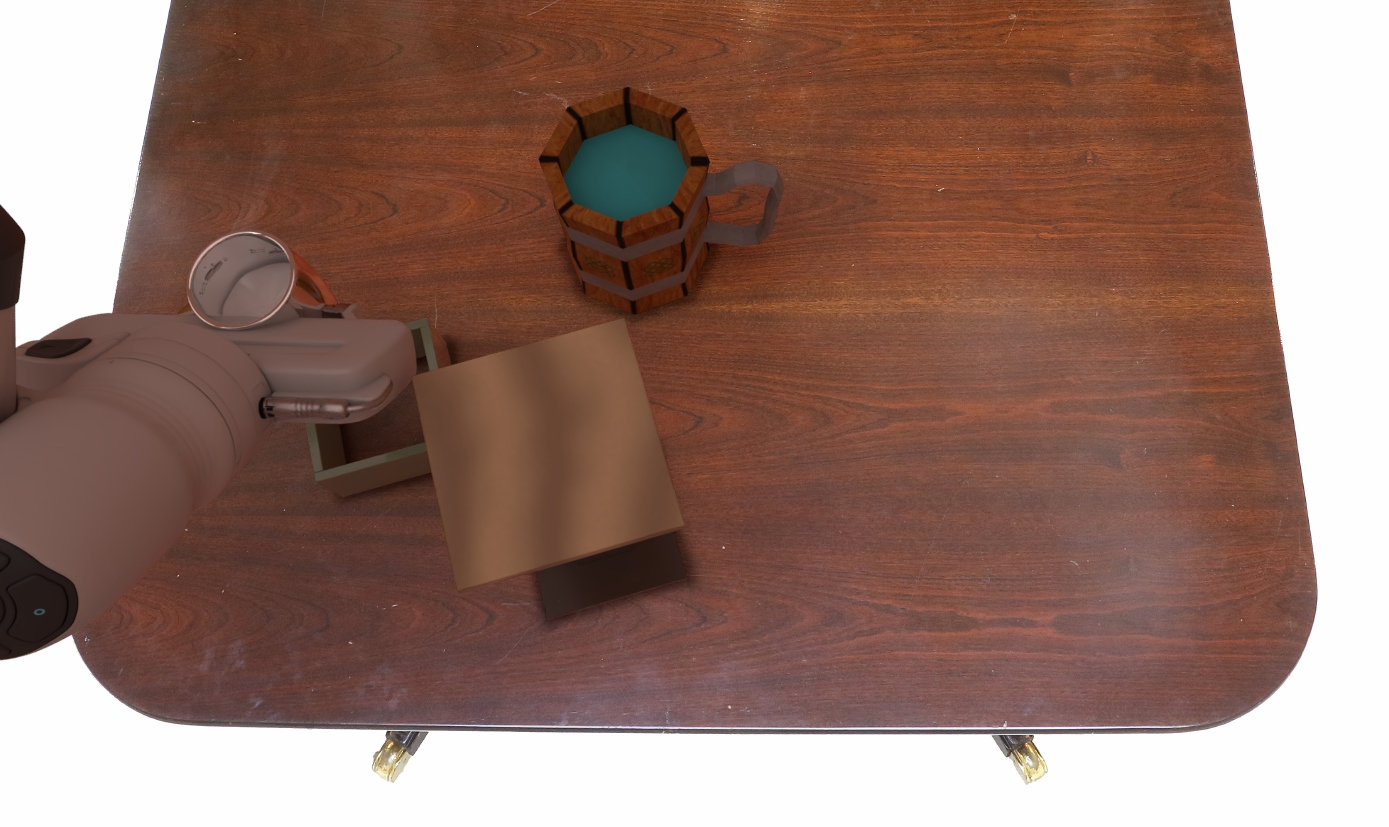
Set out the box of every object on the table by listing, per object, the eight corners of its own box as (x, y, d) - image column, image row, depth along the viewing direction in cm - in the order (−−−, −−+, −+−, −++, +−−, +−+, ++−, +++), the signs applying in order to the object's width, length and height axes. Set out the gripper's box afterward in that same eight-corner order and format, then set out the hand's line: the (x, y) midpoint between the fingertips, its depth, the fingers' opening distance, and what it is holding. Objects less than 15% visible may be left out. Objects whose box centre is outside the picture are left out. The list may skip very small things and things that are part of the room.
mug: (561, 313, 86) (531, 236, 71) (570, 183, 90) (544, 85, 75) (775, 317, 85) (788, 240, 71) (775, 186, 89) (787, 88, 75)
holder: (343, 497, 81) (315, 482, 76) (321, 376, 85) (292, 353, 79) (473, 460, 82) (455, 442, 76) (446, 342, 85) (427, 316, 80)
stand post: (549, 619, 78) (467, 582, 52) (516, 484, 81) (425, 386, 55) (687, 579, 79) (674, 522, 53) (649, 447, 82) (620, 332, 56)
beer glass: (286, 337, 70) (174, 244, 56) (376, 310, 71) (288, 212, 56) (302, 421, 68) (190, 347, 54) (395, 393, 69) (308, 313, 54)
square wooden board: (461, 593, 52) (456, 591, 51) (415, 381, 56) (410, 375, 55) (685, 528, 53) (685, 525, 52) (626, 323, 56) (624, 316, 55)
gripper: (362, 360, 48) (440, 270, 60) (-26, 351, 48) (129, 263, 61) (381, 466, 51) (451, 360, 63) (15, 455, 51) (155, 352, 64)
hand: (290, 312), depth 62 cm, fingers closed on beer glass, 7 cm apart
